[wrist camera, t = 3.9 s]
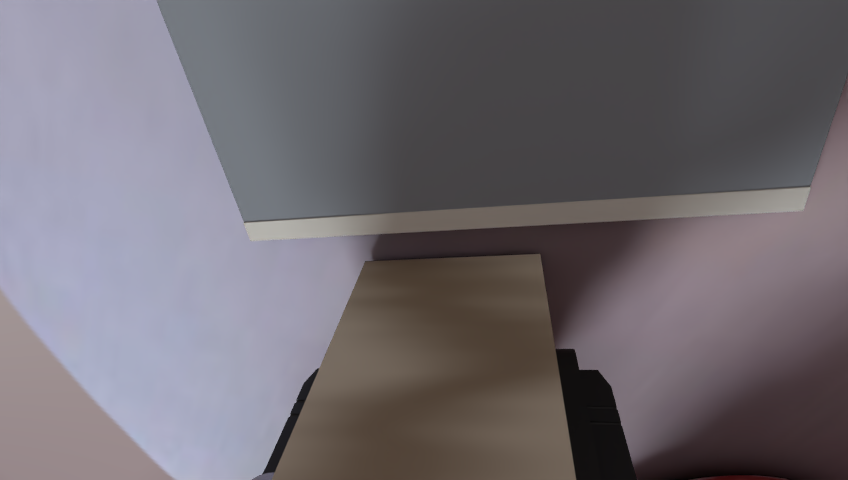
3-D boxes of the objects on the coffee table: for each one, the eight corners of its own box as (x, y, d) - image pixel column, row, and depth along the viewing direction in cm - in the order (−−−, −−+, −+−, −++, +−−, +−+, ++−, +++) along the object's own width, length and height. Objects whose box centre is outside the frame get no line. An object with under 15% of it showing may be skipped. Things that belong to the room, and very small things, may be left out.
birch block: (540, 253, 12) (617, 737, 5) (541, 379, 15) (591, 823, 7) (365, 261, 13) (188, 673, 5) (394, 378, 16) (301, 770, 8)
